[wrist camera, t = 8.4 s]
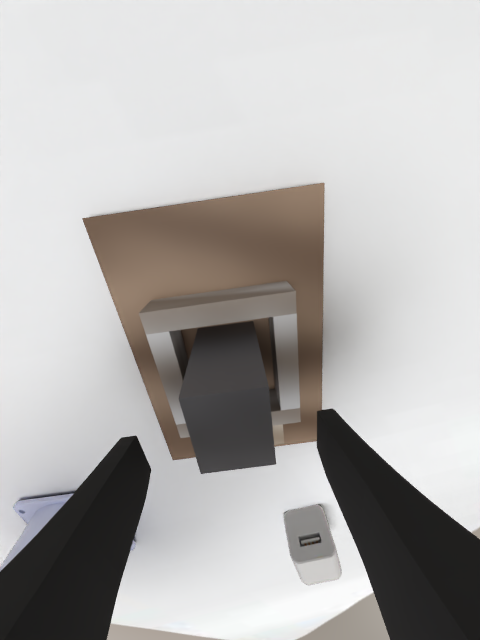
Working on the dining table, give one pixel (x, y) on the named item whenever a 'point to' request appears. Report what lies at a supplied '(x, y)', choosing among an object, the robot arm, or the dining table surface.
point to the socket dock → (222, 295)
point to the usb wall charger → (312, 545)
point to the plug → (228, 400)
